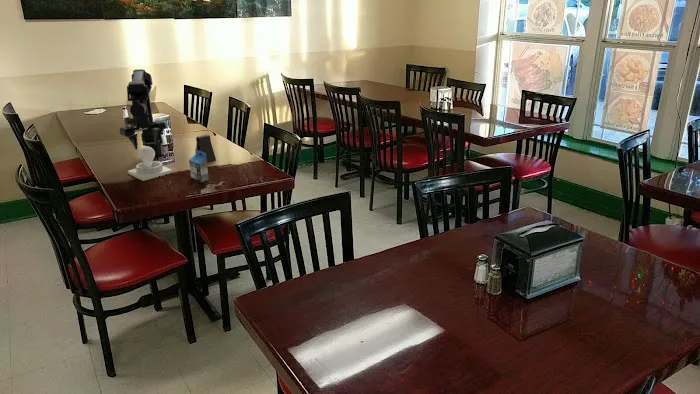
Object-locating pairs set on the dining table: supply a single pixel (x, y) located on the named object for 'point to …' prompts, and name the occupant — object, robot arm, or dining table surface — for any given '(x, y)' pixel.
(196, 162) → the retail box
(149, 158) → the light bulb
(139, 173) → the socket base
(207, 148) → the phone stand
